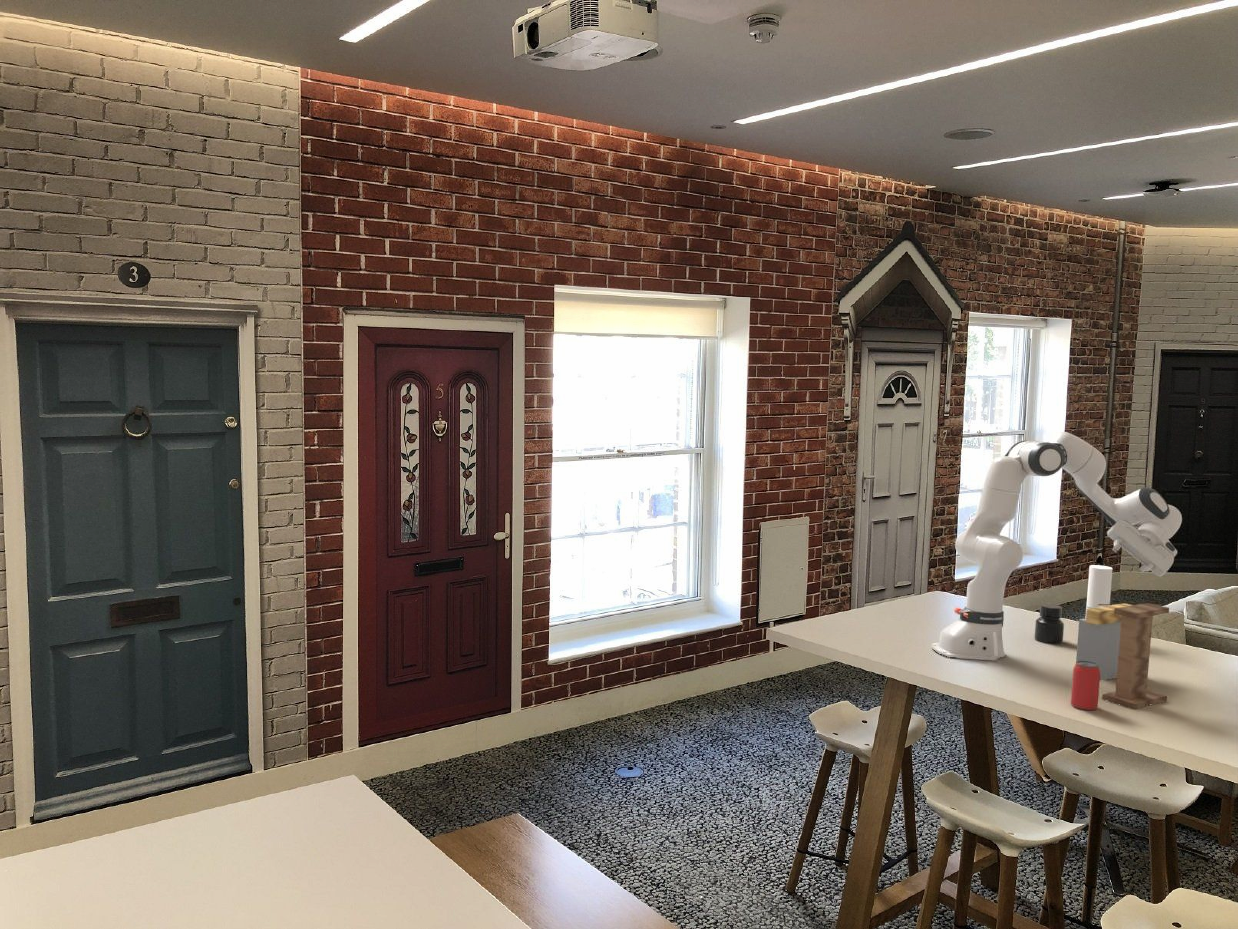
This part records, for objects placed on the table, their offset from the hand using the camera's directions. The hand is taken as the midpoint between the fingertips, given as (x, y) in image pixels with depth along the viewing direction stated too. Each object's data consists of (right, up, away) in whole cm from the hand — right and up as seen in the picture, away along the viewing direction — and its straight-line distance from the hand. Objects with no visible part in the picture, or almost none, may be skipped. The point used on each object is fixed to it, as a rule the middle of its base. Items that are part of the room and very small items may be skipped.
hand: (1127, 560), depth 303 cm
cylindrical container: (+8, -31, +36) cm, 48 cm away
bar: (-8, -18, -6) cm, 20 cm away
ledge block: (-10, -34, -5) cm, 35 cm away
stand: (-14, -36, -31) cm, 50 cm away
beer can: (-32, -36, -39) cm, 62 cm away
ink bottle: (-11, -31, +31) cm, 45 cm away
